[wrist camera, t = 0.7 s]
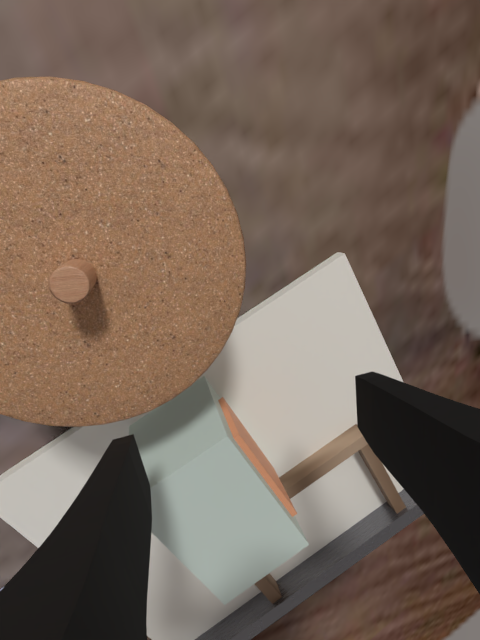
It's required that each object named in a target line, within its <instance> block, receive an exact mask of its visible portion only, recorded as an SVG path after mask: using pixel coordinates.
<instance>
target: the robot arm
mask: <svg viewBox="0 0 480 640" xmlns="http://www.w3.org/2000/svg"><path fill="white" fill-rule="evenodd" d="M355 385H356V406H357V427H358V429H359V430H360V432H361V434H362V435H363V437H364V438H365V440H366V442H367V443H368V445H369V446H370V448H371V449H372V451H373V452H374V454H375V455H376V456H377V457H378V459H379V460H380V461H381V462H382V463H383V465H384V466H385V467H386V468H387V470H388V471H389V472H390V473H391V474H392V476H393V477H394V478H395V479H396V480H397V481H398V483H399V484H400V485H401V486H402V487H403V489H404V490H405V491H406V492H407V493H408V495H409V496H410V497H411V498H412V499H413V501H414V502H415V503H416V504H417V505H418V506H419V508H420V509H421V510H422V511H423V513H424V514H425V515H426V516H427V518H428V519H429V520H430V522H431V523H432V524H433V526H434V527H435V528H436V530H437V531H438V533H439V534H440V536H441V537H442V539H443V540H444V541H445V543H446V544H447V546H448V547H449V549H450V550H451V552H452V553H453V554H454V556H455V557H456V559H457V560H458V562H459V563H460V565H461V566H462V568H463V569H464V571H465V573H466V574H467V576H468V577H469V579H470V580H471V582H472V583H473V585H474V586H475V588H476V589H477V591H478V592H479V594H480V409H478V408H475V407H471V406H468V405H465V404H462V403H459V402H456V401H453V400H450V399H447V398H444V397H441V396H438V395H435V394H433V393H430V392H427V391H425V390H422V389H419V388H417V387H414V386H411V385H409V384H406V383H404V382H401V381H398V380H396V379H393V378H390V377H388V376H385V375H382V374H379V373H376V372H368V373H364V374H360V375H357V376H355ZM151 531H152V505H151V489H150V483H149V480H148V477H147V474H146V471H145V468H144V465H143V462H142V459H141V456H140V453H139V450H138V447H137V443H136V440H135V437H134V434H132V435H128V436H125V437H121V438H117V439H113V440H112V442H111V443H110V445H109V446H108V448H107V449H106V451H105V453H104V454H103V456H102V458H101V459H100V461H99V463H98V464H97V466H96V468H95V469H94V471H93V472H92V474H91V476H90V477H89V479H88V480H87V482H86V483H85V485H84V486H83V488H82V490H81V491H80V493H79V494H78V496H77V497H76V499H75V500H74V502H73V503H72V505H71V506H70V507H69V509H68V510H67V512H66V513H65V514H64V516H63V517H62V519H61V520H60V521H59V523H58V524H57V526H56V527H55V528H54V530H53V531H52V532H51V533H50V535H49V536H48V537H47V538H46V540H45V541H44V542H43V543H42V545H41V546H40V547H39V548H38V549H37V551H36V552H35V553H34V554H33V555H32V557H31V558H30V559H29V560H28V561H27V562H26V564H25V565H24V566H23V567H22V568H21V569H20V570H19V571H18V573H17V574H16V575H15V576H14V577H13V578H12V579H11V580H10V581H9V582H8V583H7V584H6V585H5V586H4V587H3V588H1V589H0V640H147V626H146V617H147V593H148V578H149V562H150V547H151Z"/></svg>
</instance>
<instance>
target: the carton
mask: <svg viewBox="0 0 480 640" xmlns="http://www.w3.org/2000/svg"><path fill="white" fill-rule="evenodd" d="M132 434H134V437H135V440H136V443H137V447H138V450H139V453H140V456H141V459H142V462H143V465H144V468H145V471H146V474H147V477H148V480H149V483H150V489H151V505H152V531H151V533H153V534H154V535H155V536H156V537H157V538H158V539H159V540H160V541H161V542H162V543H163V544H164V545H165V546H166V547H167V548H168V549H169V550H170V551H171V552H172V553H173V554H174V555H175V556H176V557H177V558H178V559H179V560H180V561H181V562H182V563H183V564H184V565H185V566H186V567H187V568H188V569H189V570H190V571H191V572H192V573H193V574H194V575H195V576H196V577H197V578H198V579H199V580H200V581H201V582H202V583H203V584H204V585H205V586H206V587H207V588H208V589H209V590H210V591H211V592H212V593H213V594H214V595H215V596H216V597H217V598H218V599H219V600H220V601H221V602H222V603H223V604H224V605H226V604H227V603H228V602H230V601H231V600H233V599H234V598H235V597H237V596H238V595H240V594H241V593H242V592H244V591H245V590H247V589H248V588H249V587H251V586H252V585H254V584H255V583H256V582H258V581H259V580H261V579H262V578H263V577H265V576H266V575H268V574H269V573H270V572H272V571H273V570H274V569H276V568H277V567H279V566H280V565H281V564H283V563H284V562H286V561H287V560H288V559H290V558H291V557H293V556H294V555H295V554H297V553H298V552H300V551H301V550H302V549H304V548H305V547H307V546H308V545H309V543H308V541H307V539H306V537H305V535H304V533H303V531H302V529H301V527H300V525H299V523H298V521H297V519H296V517H295V515H296V514H297V512H296V510H295V508H294V506H293V504H292V502H291V500H290V498H289V496H288V494H287V493H286V491H285V489H284V487H283V485H282V483H281V481H280V479H279V477H278V475H277V473H276V471H275V469H274V467H273V466H272V465H271V463H270V462H269V461H268V459H267V458H266V456H265V455H264V454H263V452H262V451H261V449H260V448H259V447H258V445H257V444H256V442H255V441H254V440H253V438H252V437H251V435H250V434H249V433H248V431H247V430H246V429H245V427H244V426H243V424H242V423H241V422H240V420H239V419H238V417H237V416H236V415H235V413H234V412H233V410H232V409H231V408H230V406H229V405H228V404H227V402H226V401H225V399H224V398H223V397H222V398H220V397H219V395H218V394H217V393H216V391H215V390H214V389H213V387H212V386H211V384H210V383H209V382H208V380H207V379H206V377H205V376H203V377H202V378H200V379H199V380H197V381H196V382H194V383H193V384H192V385H191V386H190V387H189V388H187V389H186V390H184V391H183V392H182V393H180V394H179V395H178V396H176V397H175V398H173V399H172V400H170V401H168V402H166V403H165V404H163V405H161V406H159V407H157V408H155V409H154V410H152V411H151V412H149V413H148V414H146V415H145V416H143V417H142V418H140V419H139V420H138V421H136V422H135V423H133V424H132V425H130V426H129V435H132Z"/></svg>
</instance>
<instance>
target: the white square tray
mask: <svg viewBox="0 0 480 640" xmlns="http://www.w3.org/2000/svg"><path fill="white" fill-rule="evenodd" d="M368 372H376V373H379V374H382V375H385V376H388V377H390V378H393V379H396V380H398V381H401V382H403V380H402V378H401V376H400V374H399V372H398V369H397V367H396V365H395V363H394V361H393V358H392V356H391V354H390V352H389V350H388V347H387V345H386V343H385V341H384V339H383V336H382V334H381V332H380V330H379V328H378V326H377V323H376V321H375V319H374V317H373V315H372V312H371V310H370V308H369V306H368V304H367V301H366V299H365V297H364V295H363V293H362V290H361V288H360V286H359V284H358V282H357V279H356V277H355V275H354V273H353V271H352V269H351V266H350V264H349V262H348V260H347V258H346V255H345V254H344V253H339V252H337V253H336V254H334V255H333V256H331V257H330V258H328V259H327V260H325V261H324V262H322V263H321V264H319V265H318V266H316V267H315V268H313V269H311V270H310V271H308V272H307V273H305V274H304V275H302V276H301V277H299V278H298V279H296V280H295V281H293V282H292V283H290V284H289V285H287V286H286V287H284V288H283V289H281V290H280V291H278V292H277V293H275V294H274V295H272V296H271V297H269V298H268V299H266V300H265V301H263V302H262V303H260V304H258V305H257V306H255V307H254V308H252V309H251V310H249V311H248V312H246V313H245V314H243V315H242V316H240V317H239V318H237V320H236V323H235V326H234V328H233V331H232V333H231V335H230V337H229V338H228V340H227V342H226V344H225V346H224V348H223V349H222V351H221V353H220V354H219V355H218V357H217V358H216V359H215V360H214V362H213V363H212V364H211V366H210V367H209V368H208V370H207V371H206V372H205V373H204V374H203V375H201V376H200V377H199V378H198V379H197V380H199V379H200V378H202V377H203V376H205V377H206V379H207V380H208V382H209V383H210V384H211V386H212V387H213V389H214V390H215V391H216V393H217V394H218V395H219V397H220V398H222V397H223V398H224V399H225V401H226V402H227V404H228V405H229V406H230V408H231V409H232V410H233V412H234V413H235V415H236V416H237V417H238V419H239V420H240V422H241V423H242V424H243V426H244V427H245V429H246V430H247V431H248V433H249V434H250V435H251V437H252V438H253V440H254V441H255V442H256V444H257V445H258V447H259V448H260V449H261V451H262V452H263V454H264V455H265V456H266V458H267V459H268V461H269V462H270V463H271V465H272V466H273V467H274V469H275V471H276V473H277V475H278V477H279V479H280V481H281V483H282V485H283V487H284V489H285V491H286V493H287V494H288V496H289V498H290V500H291V502H292V504H293V506H294V508H295V510H296V512H297V514H296V515H295V517H296V519H297V521H298V523H299V525H300V527H301V529H302V531H303V533H304V535H305V537H306V539H307V541H308V543H309V545H308V546H307V547H305V548H304V549H302V550H301V551H300V552H298V553H297V554H295V555H294V556H293V557H291V558H290V559H288V560H287V561H286V562H284V563H283V564H281V565H280V566H279V567H277V568H276V569H274V570H273V571H272V572H270V573H269V574H268V575H266V576H265V577H263V578H262V579H261V580H259V581H258V582H256V583H255V584H254V585H252V586H251V587H249V588H248V589H247V590H245V591H244V592H242V593H241V594H240V595H238V596H237V597H235V598H234V599H233V600H231V601H230V602H228V603H227V604H226V605H224V604H223V603H222V602H221V601H220V600H219V599H218V598H217V597H216V596H215V595H214V594H213V593H212V592H211V591H210V590H209V589H208V588H207V587H206V586H205V585H204V584H203V583H202V582H201V581H200V580H199V579H198V578H197V577H196V576H195V575H194V574H193V573H192V572H191V571H190V570H189V569H188V568H187V567H186V566H185V565H184V564H183V563H182V562H181V561H180V560H179V559H178V558H177V557H176V556H175V555H174V554H173V553H172V552H171V551H170V550H169V549H168V548H167V547H166V546H165V545H164V544H163V543H162V542H161V541H160V540H159V539H158V538H157V537H156V536H155V535H154V534H153V533H151V547H150V562H149V578H148V593H147V617H146V626H147V636H148V637H149V638H151V639H152V640H251V639H252V638H253V637H255V636H256V635H258V634H259V633H260V632H262V631H263V630H264V629H266V628H267V627H269V626H270V625H271V624H273V623H274V622H275V621H277V620H278V619H280V618H281V617H282V616H284V615H285V614H286V613H288V612H289V611H291V610H292V609H293V608H295V607H296V606H297V605H299V604H300V603H302V602H303V601H304V600H306V599H307V598H308V597H310V596H311V595H313V594H314V593H315V592H317V591H318V590H319V589H321V588H322V587H324V586H325V585H326V584H328V583H329V582H330V581H332V580H333V579H335V578H336V577H337V576H339V575H340V574H341V573H343V572H344V571H346V570H347V569H348V568H350V567H351V566H352V565H354V564H355V563H357V562H358V561H359V560H361V559H362V558H363V557H365V556H366V555H368V554H369V553H370V552H372V551H373V550H374V549H376V548H377V547H379V546H380V545H381V544H383V543H384V542H385V541H387V540H388V539H390V538H391V537H392V536H394V535H395V534H396V533H398V532H399V531H401V530H402V529H403V528H405V527H406V526H407V525H409V524H410V523H412V522H413V521H414V520H416V519H417V518H418V517H420V516H421V515H423V514H424V513H423V511H422V510H421V509H420V508H419V506H418V505H417V504H416V503H415V502H414V501H413V499H412V498H411V497H410V496H409V495H408V493H407V492H406V491H405V490H404V489H403V487H402V486H401V485H400V484H399V483H398V481H397V480H396V479H395V478H394V477H393V476H392V474H391V473H390V472H389V471H388V470H387V468H386V467H385V466H384V465H383V463H382V462H381V461H380V460H379V459H378V457H377V456H376V455H375V454H374V452H373V451H372V449H371V448H370V446H369V445H368V443H367V442H366V440H365V438H364V437H363V435H362V434H361V432H360V430H359V429H358V427H357V406H356V385H355V376H357V375H360V374H364V373H368ZM197 380H196V381H197ZM196 381H195V382H196ZM153 410H154V409H153ZM151 411H152V410H151ZM151 411H149V412H151ZM149 412H146V413H143V414H141V415H138V416H135V417H133V418H130V419H126V420H122V421H118V422H113V423H109V424H104V425H93V426H82V427H72V428H71V429H69V430H68V431H66V432H65V433H63V434H62V435H60V436H59V437H57V438H56V439H54V440H53V441H51V442H50V443H48V444H47V445H45V446H44V447H42V448H41V449H39V450H37V451H36V452H34V453H33V454H31V455H30V456H28V457H27V458H25V459H24V460H22V461H21V462H19V463H18V464H16V465H15V466H13V467H12V468H10V469H9V470H7V471H6V472H4V473H3V474H1V475H0V518H2V519H3V520H4V521H5V522H7V523H8V524H9V525H10V526H12V527H13V528H14V529H15V530H17V531H18V532H19V533H20V534H22V535H23V536H24V537H25V538H27V539H28V540H29V541H30V542H31V543H33V544H34V545H35V546H36V547H38V548H39V547H40V546H41V545H42V543H43V542H44V541H45V540H46V538H47V537H48V536H49V535H50V533H51V532H52V531H53V530H54V528H55V527H56V526H57V524H58V523H59V521H60V520H61V519H62V517H63V516H64V514H65V513H66V512H67V510H68V509H69V507H70V506H71V505H72V503H73V502H74V500H75V499H76V497H77V496H78V494H79V493H80V491H81V490H82V488H83V486H84V485H85V483H86V482H87V480H88V479H89V477H90V476H91V474H92V472H93V471H94V469H95V468H96V466H97V464H98V463H99V461H100V459H101V458H102V456H103V454H104V453H105V451H106V449H107V448H108V446H109V445H110V443H111V442H112V440H113V439H117V438H121V437H125V436H128V435H129V426H130V425H132V424H133V423H135V422H136V421H138V420H139V419H140V418H142V417H143V416H145V415H146V414H148V413H149Z"/></svg>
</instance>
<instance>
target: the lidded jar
mask: <svg viewBox="0 0 480 640" xmlns="http://www.w3.org/2000/svg"><path fill="white" fill-rule="evenodd" d="M245 276H246V257H245V247H244V238H243V234H242V230H241V226H240V222H239V219H238V215H237V212H236V209H235V207H234V205H233V202H232V200H231V198H230V195H229V193H228V191H227V188H226V187H225V185H224V183H223V182H222V180H221V179H220V177H219V175H218V174H217V172H216V170H215V169H214V167H213V165H212V164H211V163H210V162H209V160H208V159H207V158H206V157H205V156H204V154H203V153H202V152H201V151H200V150H199V148H198V147H197V146H196V145H195V144H194V142H193V141H191V140H190V139H189V138H188V137H187V136H186V135H185V134H184V133H183V132H182V131H180V130H179V129H178V128H177V127H176V126H175V125H174V124H173V123H172V122H170V121H169V120H167V119H166V118H164V117H163V116H161V115H160V114H158V113H157V112H155V111H154V110H152V109H151V108H149V107H148V106H146V105H145V104H143V103H141V102H138V101H136V100H134V99H132V98H130V97H128V96H126V95H124V94H121V93H119V92H117V91H115V90H112V89H108V88H105V87H102V86H98V85H95V84H91V83H88V82H85V81H79V80H71V79H64V78H56V77H23V78H12V79H7V80H2V81H0V414H2V415H6V416H9V417H12V418H16V419H19V420H22V421H26V422H32V423H38V424H43V425H49V426H68V427H82V426H93V425H104V424H109V423H113V422H118V421H122V420H126V419H130V418H133V417H135V416H138V415H141V414H143V413H146V412H149V411H151V410H153V409H155V408H157V407H159V406H161V405H163V404H165V403H166V402H168V401H170V400H172V399H173V398H175V397H176V396H178V395H179V394H180V393H182V392H183V391H184V390H186V389H187V388H189V387H190V386H191V385H192V384H193V383H194V382H195V381H196V380H197V379H198V378H199V377H200V376H201V375H203V374H204V373H205V372H206V371H207V370H208V368H209V367H210V366H211V364H212V363H213V362H214V360H215V359H216V358H217V357H218V355H219V354H220V353H221V351H222V349H223V348H224V346H225V344H226V342H227V340H228V338H229V337H230V335H231V333H232V331H233V328H234V326H235V323H236V320H237V317H238V315H239V312H240V309H241V304H242V299H243V294H244V289H245Z"/></svg>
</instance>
